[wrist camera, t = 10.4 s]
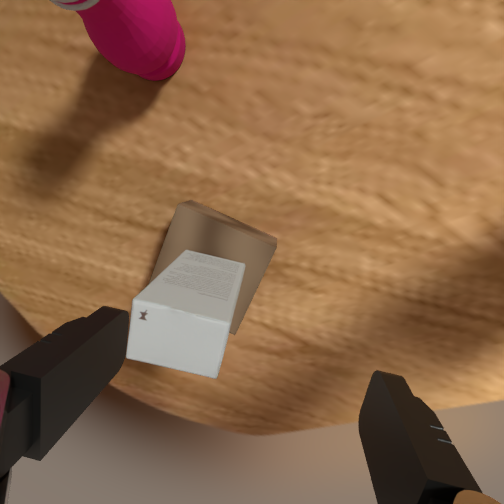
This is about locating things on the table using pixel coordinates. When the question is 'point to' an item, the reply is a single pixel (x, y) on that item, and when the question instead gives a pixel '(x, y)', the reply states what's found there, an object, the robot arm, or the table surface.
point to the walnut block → (219, 247)
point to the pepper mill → (134, 34)
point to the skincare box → (186, 314)
